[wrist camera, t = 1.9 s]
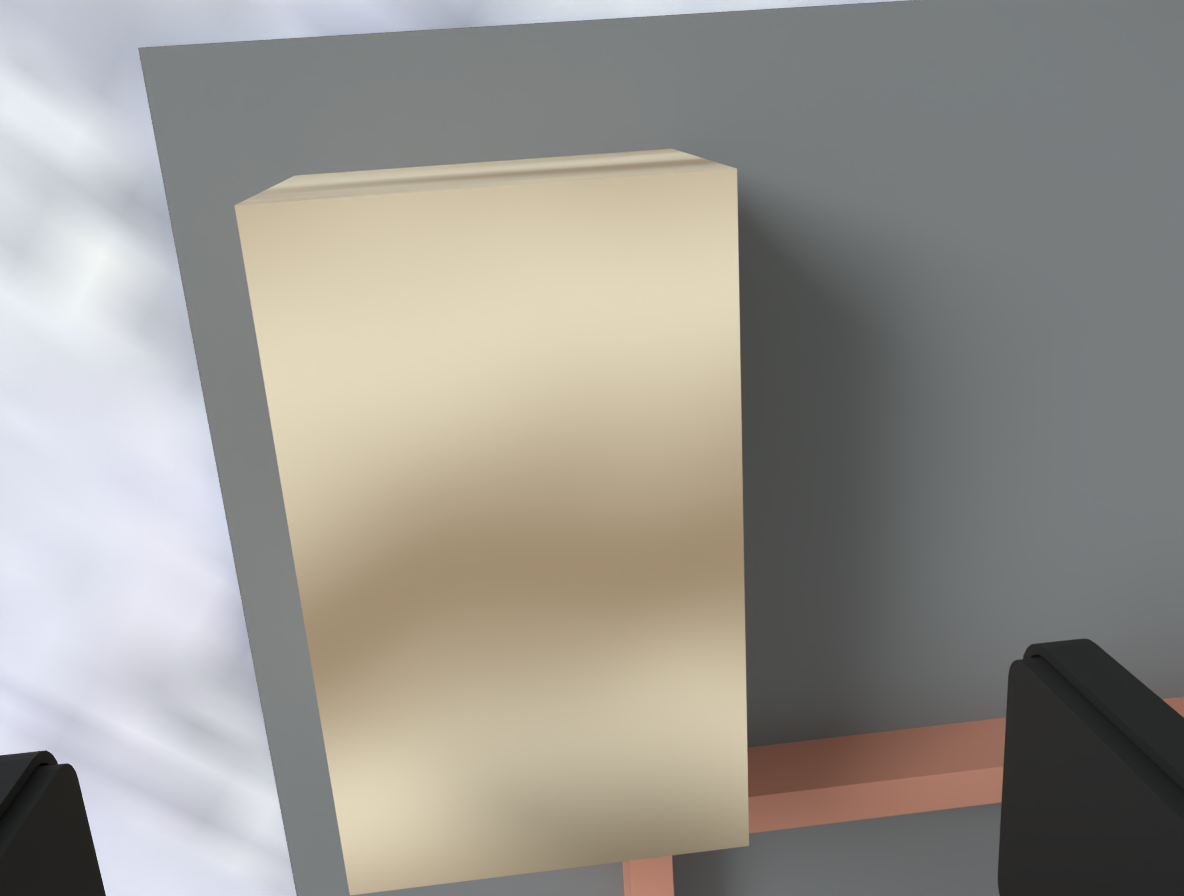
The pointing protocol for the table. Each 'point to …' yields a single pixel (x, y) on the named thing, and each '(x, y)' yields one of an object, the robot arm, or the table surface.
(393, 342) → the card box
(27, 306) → the table surface
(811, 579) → the mat
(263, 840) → the table surface
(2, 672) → the table surface
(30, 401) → the table surface
